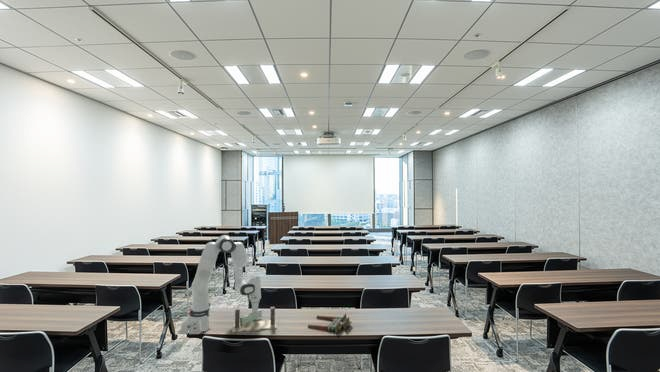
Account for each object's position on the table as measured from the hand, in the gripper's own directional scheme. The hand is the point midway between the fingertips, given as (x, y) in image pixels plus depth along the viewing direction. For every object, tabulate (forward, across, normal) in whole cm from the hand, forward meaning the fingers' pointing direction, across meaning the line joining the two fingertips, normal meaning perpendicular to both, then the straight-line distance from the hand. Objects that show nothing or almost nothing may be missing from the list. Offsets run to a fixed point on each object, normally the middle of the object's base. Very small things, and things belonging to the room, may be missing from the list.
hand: (255, 314), depth 249 cm
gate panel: (+2, +8, -3) cm, 9 cm away
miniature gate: (+4, +26, +56) cm, 62 cm away
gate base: (+3, +15, 0) cm, 16 cm away
